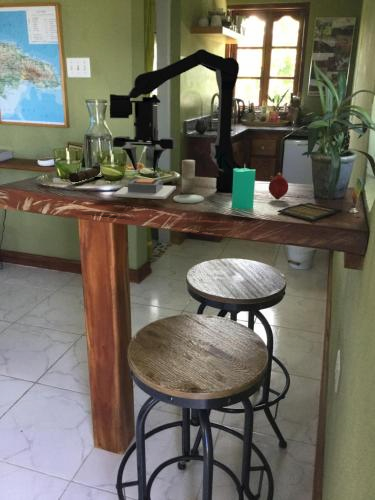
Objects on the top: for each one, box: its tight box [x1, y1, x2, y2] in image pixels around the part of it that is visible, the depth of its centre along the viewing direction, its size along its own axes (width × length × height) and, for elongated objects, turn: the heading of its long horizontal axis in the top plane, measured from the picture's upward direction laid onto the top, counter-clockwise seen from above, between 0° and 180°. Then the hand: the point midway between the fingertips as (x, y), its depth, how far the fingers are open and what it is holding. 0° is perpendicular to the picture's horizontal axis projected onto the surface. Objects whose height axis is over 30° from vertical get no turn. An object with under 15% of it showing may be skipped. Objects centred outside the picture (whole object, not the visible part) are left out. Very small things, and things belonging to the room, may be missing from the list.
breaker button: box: [136, 178, 156, 184], centre depth 141 cm, size 5×5×1 cm
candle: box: [231, 164, 257, 210], centre depth 124 cm, size 6×6×12 cm
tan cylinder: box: [181, 159, 196, 195], centre depth 141 cm, size 4×4×10 cm
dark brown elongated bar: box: [68, 164, 100, 182], centre depth 157 cm, size 19×4×5 cm, turn 154°
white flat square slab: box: [112, 178, 177, 200], centre depth 141 cm, size 16×16×3 cm
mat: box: [173, 194, 205, 204], centre depth 133 cm, size 9×9×1 cm
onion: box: [268, 172, 289, 200], centre depth 134 cm, size 6×6×8 cm
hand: (145, 170), depth 140 cm, fingers open, 6 cm apart
